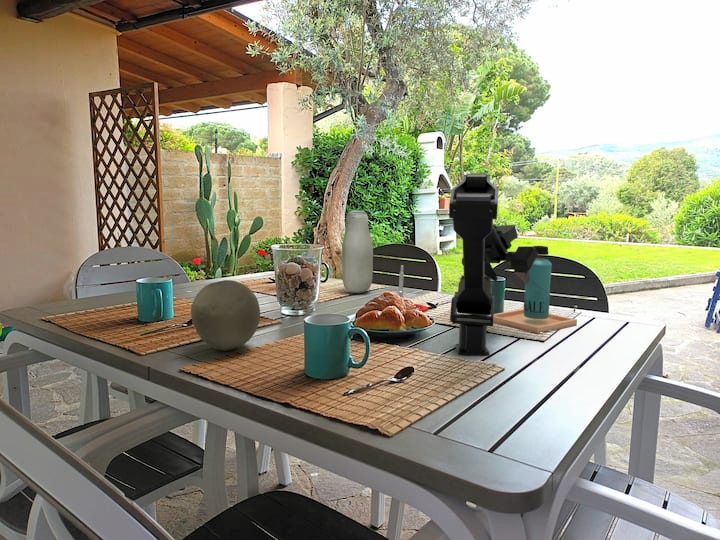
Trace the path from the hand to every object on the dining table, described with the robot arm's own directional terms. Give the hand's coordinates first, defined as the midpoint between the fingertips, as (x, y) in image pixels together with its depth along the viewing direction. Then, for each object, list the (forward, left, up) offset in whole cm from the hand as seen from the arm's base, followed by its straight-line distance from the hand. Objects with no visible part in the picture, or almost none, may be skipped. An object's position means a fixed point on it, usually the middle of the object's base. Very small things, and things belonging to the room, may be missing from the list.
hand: (511, 281), depth 131 cm
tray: (+5, -7, -12) cm, 15 cm away
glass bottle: (+42, +42, -12) cm, 61 cm away
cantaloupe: (-27, +64, -12) cm, 71 cm away
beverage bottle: (+4, -8, -12) cm, 15 cm away
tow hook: (+18, +24, -12) cm, 33 cm away
